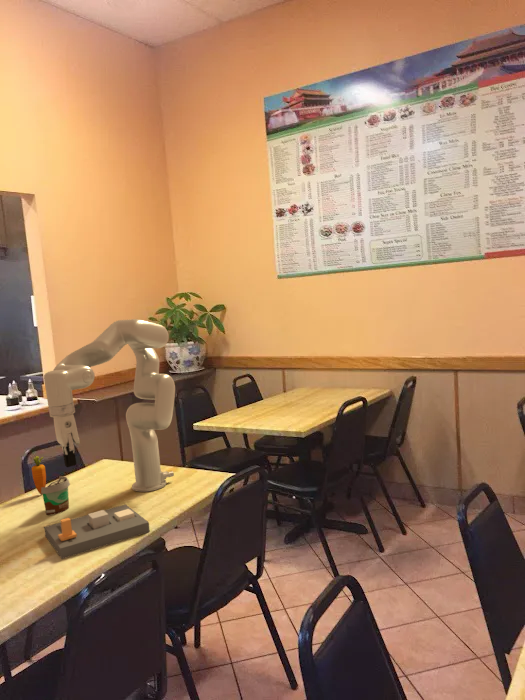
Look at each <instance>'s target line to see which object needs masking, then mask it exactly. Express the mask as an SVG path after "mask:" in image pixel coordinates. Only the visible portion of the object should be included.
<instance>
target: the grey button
mask: <svg viewBox="0 0 525 700" xmlns="http://www.w3.org/2000/svg"><path fill="white" fill-rule="evenodd" d="M104 510H105V509H101V510H97V511H95V512H89V513H87V515H88V519H89V527H90V528H91V529H96V528H99V527H102V526H106V525H109V516H108V513H106V512H105V511H104Z"/></svg>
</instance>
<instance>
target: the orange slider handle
mask: <svg viewBox="0 0 525 700" xmlns="http://www.w3.org/2000/svg"><path fill="white" fill-rule="evenodd" d="M59 521H60V522H61V529H62V534H59V535H58V538H59V539H60V540H61V541H64V540H68V539H71V538H74V537H77V534H76V533H75V532H74V531H72V527H71V518H70V517H65V518H62V519H60V520H59Z"/></svg>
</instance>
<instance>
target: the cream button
mask: <svg viewBox="0 0 525 700" xmlns="http://www.w3.org/2000/svg"><path fill="white" fill-rule="evenodd" d="M114 516H115V519H116V520H117V521H118V522H120V521H123V520H127V519H130V518H133V517H135V516H134V512H132V511H131V510H130V509H126V510H123V511H119V512H115V513H114Z"/></svg>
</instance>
